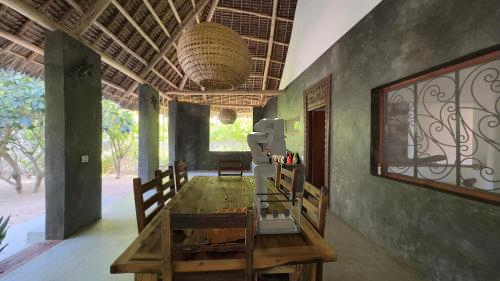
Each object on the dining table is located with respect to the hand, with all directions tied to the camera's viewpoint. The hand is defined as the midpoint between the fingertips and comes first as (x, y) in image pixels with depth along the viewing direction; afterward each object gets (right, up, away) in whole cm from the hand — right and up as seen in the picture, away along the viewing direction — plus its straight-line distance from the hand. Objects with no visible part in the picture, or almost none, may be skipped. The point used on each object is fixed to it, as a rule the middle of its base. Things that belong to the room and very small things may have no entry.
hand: (277, 164), depth 148 cm
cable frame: (-3, -37, -12) cm, 39 cm away
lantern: (-51, -36, -26) cm, 68 cm away
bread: (-28, -37, -25) cm, 53 cm away
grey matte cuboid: (+4, -30, -11) cm, 33 cm away
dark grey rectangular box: (-3, -30, -12) cm, 33 cm away
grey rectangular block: (-10, -30, -13) cm, 34 cm away
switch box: (-3, -37, -12) cm, 39 cm away
